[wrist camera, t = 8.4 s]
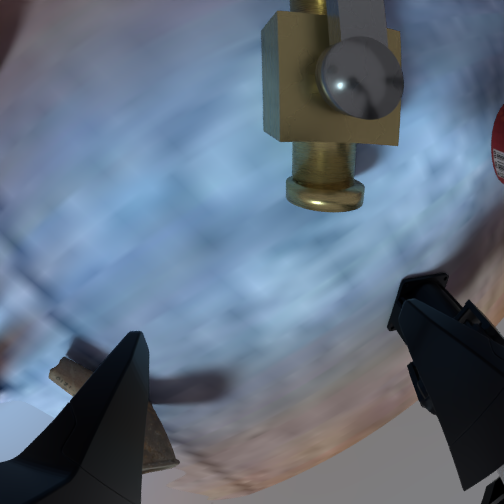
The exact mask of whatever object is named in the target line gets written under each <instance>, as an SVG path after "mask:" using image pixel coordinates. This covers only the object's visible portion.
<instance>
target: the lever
mask: <svg viewBox="0 0 504 504" xmlns="http://www.w3.org/2000/svg"><path fill="white" fill-rule="evenodd" d="M326 7H327V18H328V30H329V44H330V46H328V47H327V48H326V49H325V50H324V51H323V52H322V53H321V54H320V56H319V58H318V60H317V63H316V67H315V81H316V85H317V88H318V91H319V93H320V95H321V96H322V98H323V99H324V101H325V102H326V103H327V104H328V105H329V106H330V107H331V108H332V109H334V110H335V111H337V112H339V113H341V114H343V115H347V116H351V117H356V118H360V119H366V120H375V119H379V118H383V117H385V116H387V115H388V114H390V113H391V112H392V111H393V110H394V109H395V108H396V107H397V105H398V104H399V102H400V100H401V97H402V94H403V89H404V79H403V73H402V69H401V67H400V64H399V62H398V60H397V58H396V57H395V56H394V54H393V53H392V52H391V51H390V50H389V49H388V38H387V26H386V16H385V7H384V0H326Z"/></svg>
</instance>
